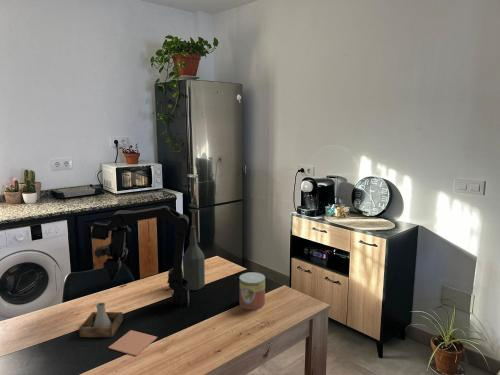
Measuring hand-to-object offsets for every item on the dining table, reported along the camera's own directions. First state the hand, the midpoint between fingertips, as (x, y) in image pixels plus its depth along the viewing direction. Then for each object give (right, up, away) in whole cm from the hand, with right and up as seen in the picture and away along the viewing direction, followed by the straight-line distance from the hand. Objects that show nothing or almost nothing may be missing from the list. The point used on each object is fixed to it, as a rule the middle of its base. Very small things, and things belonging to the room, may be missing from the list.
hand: (114, 276), depth 160 cm
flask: (0, -17, -14) cm, 22 cm away
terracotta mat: (+15, -19, -24) cm, 34 cm away
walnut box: (0, -17, -14) cm, 22 cm away
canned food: (+58, -14, +7) cm, 60 cm away
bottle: (+30, -10, +23) cm, 40 cm away
